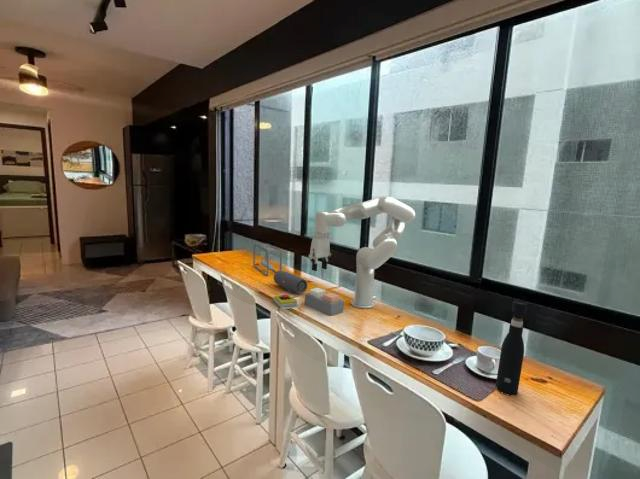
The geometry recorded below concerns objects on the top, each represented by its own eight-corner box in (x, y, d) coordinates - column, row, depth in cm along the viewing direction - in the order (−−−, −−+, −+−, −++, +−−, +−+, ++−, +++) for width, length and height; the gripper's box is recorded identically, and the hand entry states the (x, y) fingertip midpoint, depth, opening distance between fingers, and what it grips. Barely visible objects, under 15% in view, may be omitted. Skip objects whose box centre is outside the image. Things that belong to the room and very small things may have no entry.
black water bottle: (510, 384, 117) (523, 299, 112) (521, 396, 110) (536, 306, 106) (491, 384, 117) (504, 298, 112) (502, 395, 110) (516, 305, 106)
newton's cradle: (252, 266, 257) (253, 243, 255) (266, 265, 262) (267, 242, 260) (266, 276, 231) (267, 250, 229) (281, 275, 236) (282, 250, 234)
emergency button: (288, 291, 190) (299, 300, 177) (288, 299, 191) (299, 308, 178) (272, 292, 186) (282, 301, 173) (272, 300, 187) (282, 310, 173)
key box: (317, 301, 188) (317, 290, 187) (343, 312, 175) (344, 300, 174) (304, 304, 182) (305, 293, 181) (330, 316, 168) (331, 304, 167)
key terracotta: (330, 301, 178) (331, 292, 178) (339, 305, 174) (339, 295, 173) (322, 304, 174) (323, 294, 174) (330, 307, 170) (331, 297, 169)
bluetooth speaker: (272, 286, 211) (273, 270, 209) (284, 284, 217) (285, 268, 216) (294, 296, 194) (295, 279, 193) (307, 294, 200) (308, 277, 199)
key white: (317, 296, 185) (318, 287, 185) (325, 299, 181) (325, 290, 181) (309, 298, 181) (309, 289, 181) (317, 301, 177) (317, 292, 176)
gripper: (328, 233, 185) (325, 266, 188) (303, 235, 173) (301, 270, 176) (338, 235, 180) (335, 269, 182) (314, 237, 168) (311, 273, 170)
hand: (319, 269), depth 179 cm, fingers open, 6 cm apart
